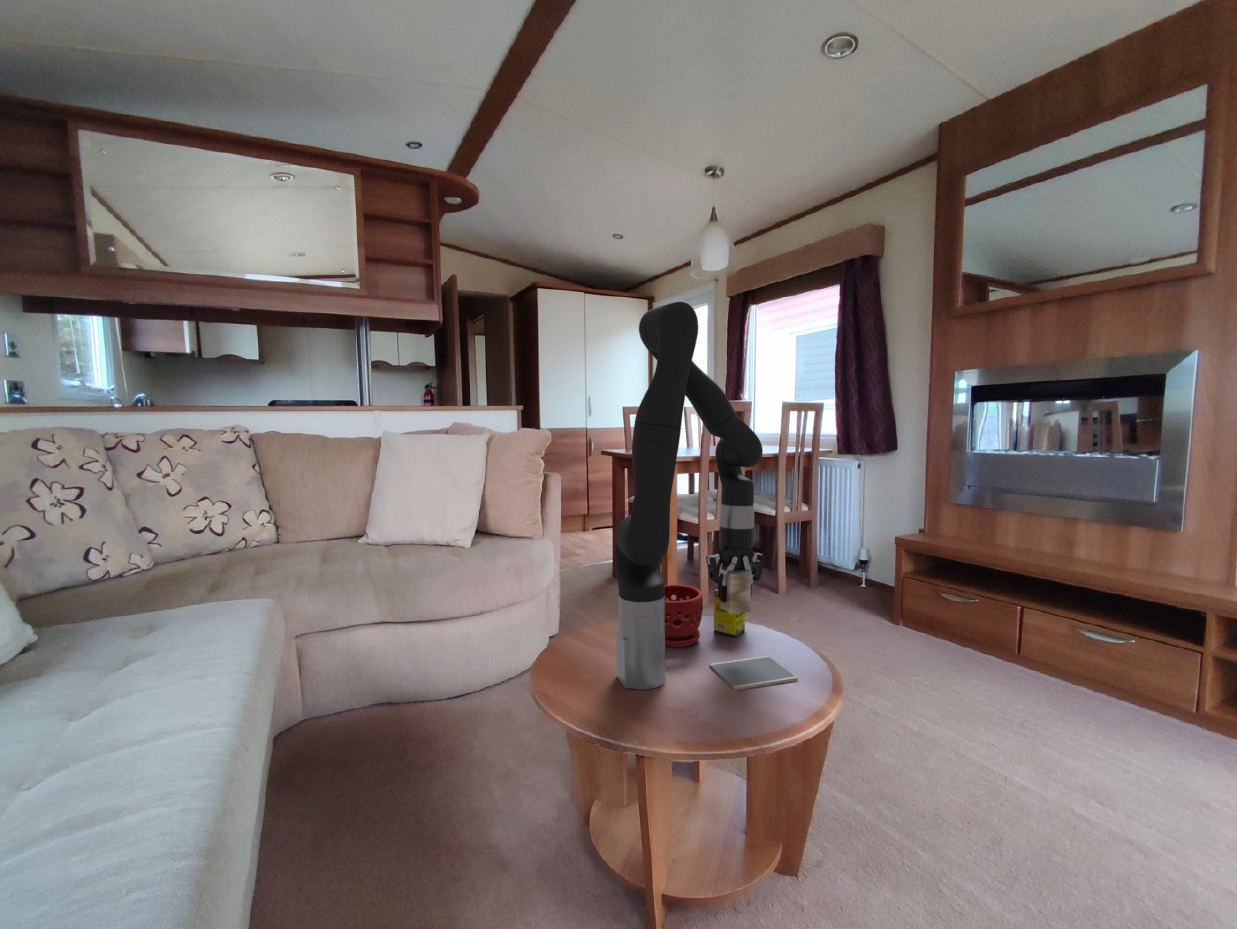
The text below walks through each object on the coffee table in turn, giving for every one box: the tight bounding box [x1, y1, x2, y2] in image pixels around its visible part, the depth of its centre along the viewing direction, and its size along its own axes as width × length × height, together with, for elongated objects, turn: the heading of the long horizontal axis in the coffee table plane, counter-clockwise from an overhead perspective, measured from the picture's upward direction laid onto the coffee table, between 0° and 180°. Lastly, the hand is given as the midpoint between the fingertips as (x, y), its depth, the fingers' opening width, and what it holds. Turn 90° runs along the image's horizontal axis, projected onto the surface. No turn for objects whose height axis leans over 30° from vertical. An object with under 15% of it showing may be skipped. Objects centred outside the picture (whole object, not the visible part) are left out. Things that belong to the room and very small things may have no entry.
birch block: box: [719, 568, 752, 613], centre depth 115 cm, size 5×5×9 cm
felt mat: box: [708, 655, 799, 691], centre depth 106 cm, size 14×11×1 cm
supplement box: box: [713, 588, 746, 638], centre depth 129 cm, size 6×6×11 cm
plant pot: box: [664, 584, 704, 648], centre depth 124 cm, size 13×13×12 cm
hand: (734, 600), depth 115 cm, fingers closed on birch block, 5 cm apart
